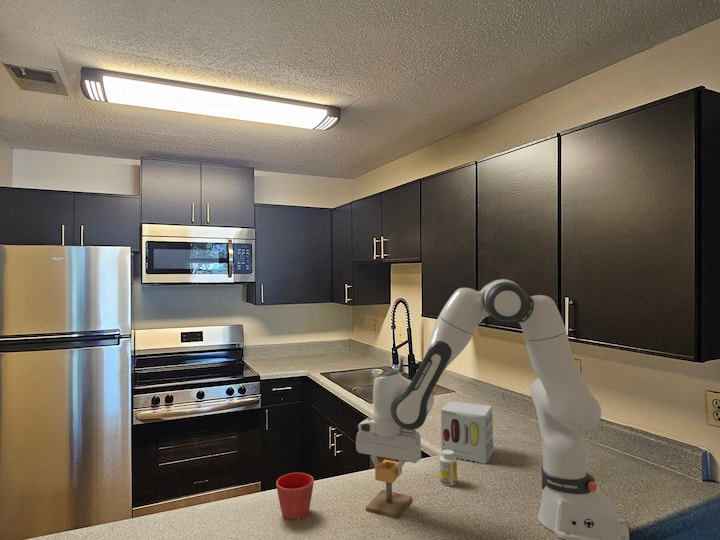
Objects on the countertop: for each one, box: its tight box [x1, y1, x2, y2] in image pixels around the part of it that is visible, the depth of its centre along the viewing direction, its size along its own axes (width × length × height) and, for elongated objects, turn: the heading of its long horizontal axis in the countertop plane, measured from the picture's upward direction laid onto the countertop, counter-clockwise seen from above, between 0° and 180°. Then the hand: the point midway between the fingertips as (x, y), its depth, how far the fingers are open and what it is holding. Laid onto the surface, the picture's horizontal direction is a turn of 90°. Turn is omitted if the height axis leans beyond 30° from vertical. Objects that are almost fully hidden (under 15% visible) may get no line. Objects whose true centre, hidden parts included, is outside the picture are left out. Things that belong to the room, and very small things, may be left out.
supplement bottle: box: [439, 450, 458, 487], centre depth 153 cm, size 6×6×10 cm
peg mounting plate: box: [365, 482, 413, 519], centre depth 139 cm, size 10×12×9 cm
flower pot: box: [275, 472, 315, 520], centre depth 135 cm, size 11×11×10 cm
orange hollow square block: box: [374, 459, 401, 484], centre depth 139 cm, size 5×7×4 cm
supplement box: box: [440, 400, 494, 464], centre depth 176 cm, size 17×13×18 cm
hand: (388, 471), depth 139 cm, fingers closed on orange hollow square block, 5 cm apart
